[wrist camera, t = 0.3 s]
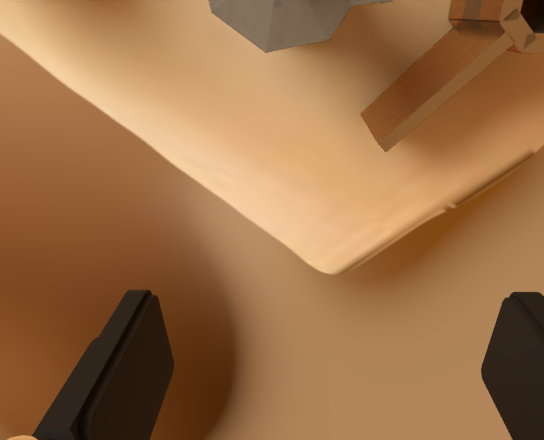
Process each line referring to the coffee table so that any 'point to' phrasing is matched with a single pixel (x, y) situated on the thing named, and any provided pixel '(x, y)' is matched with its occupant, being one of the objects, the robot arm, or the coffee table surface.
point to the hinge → (455, 62)
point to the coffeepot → (284, 20)
